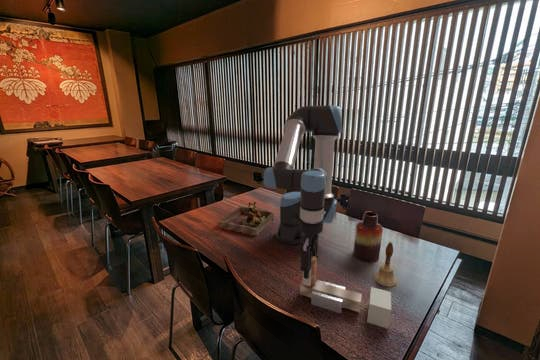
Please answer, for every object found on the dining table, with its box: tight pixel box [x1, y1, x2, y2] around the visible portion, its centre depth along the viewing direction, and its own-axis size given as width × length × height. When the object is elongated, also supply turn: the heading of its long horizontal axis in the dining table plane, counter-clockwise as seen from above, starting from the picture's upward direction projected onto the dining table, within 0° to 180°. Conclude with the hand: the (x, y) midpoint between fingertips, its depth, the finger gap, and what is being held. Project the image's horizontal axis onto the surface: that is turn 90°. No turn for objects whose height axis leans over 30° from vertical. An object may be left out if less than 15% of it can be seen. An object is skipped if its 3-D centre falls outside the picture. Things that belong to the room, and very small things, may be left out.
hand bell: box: [373, 241, 398, 288], centre depth 95 cm, size 8×8×16 cm
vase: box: [353, 211, 384, 263], centre depth 110 cm, size 11×11×20 cm
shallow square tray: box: [218, 205, 275, 237], centre depth 144 cm, size 23×23×4 cm
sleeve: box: [310, 279, 346, 314], centre depth 87 cm, size 10×7×5 cm
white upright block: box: [366, 286, 392, 330], centre depth 80 cm, size 6×8×7 cm
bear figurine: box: [242, 201, 266, 228], centre depth 142 cm, size 14×15×12 cm
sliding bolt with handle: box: [299, 255, 363, 313], centre depth 85 cm, size 20×5×14 cm, turn 66°
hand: (308, 279), depth 88 cm, fingers closed on sliding bolt with handle, 5 cm apart
